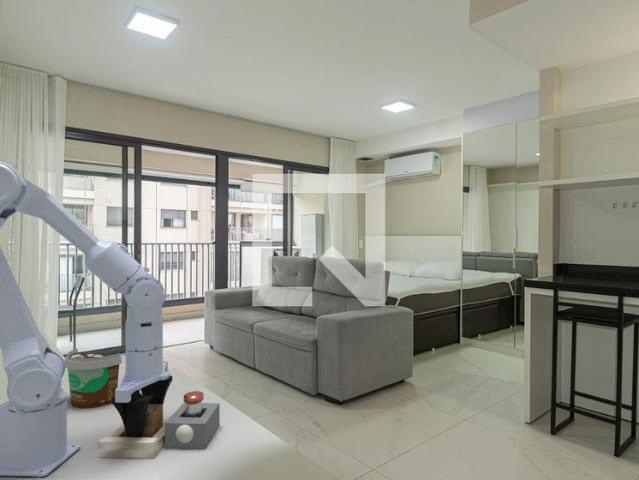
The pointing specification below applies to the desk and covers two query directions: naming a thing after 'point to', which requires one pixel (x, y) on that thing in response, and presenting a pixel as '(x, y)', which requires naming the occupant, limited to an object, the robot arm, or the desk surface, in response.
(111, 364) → the food container
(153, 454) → the channel
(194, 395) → the plunger
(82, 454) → the desk surface
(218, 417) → the grey housing block
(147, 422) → the block
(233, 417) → the desk surface
